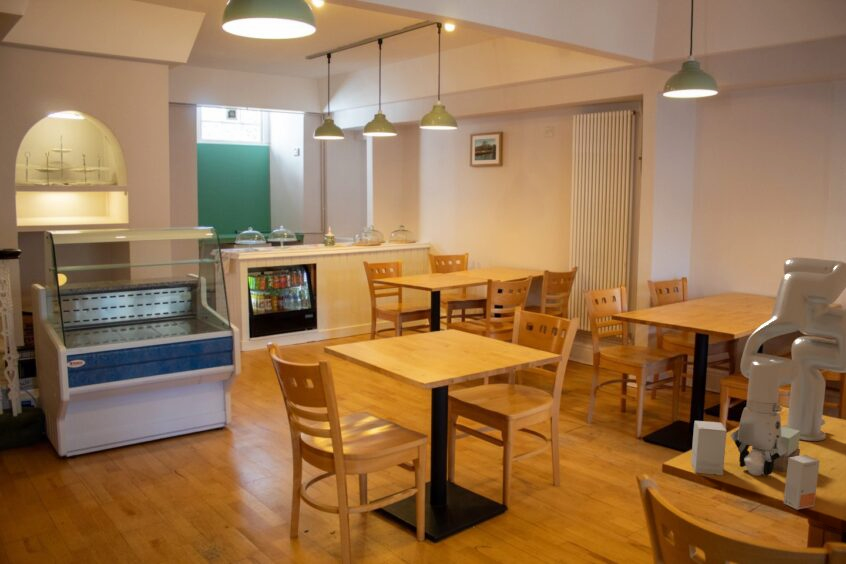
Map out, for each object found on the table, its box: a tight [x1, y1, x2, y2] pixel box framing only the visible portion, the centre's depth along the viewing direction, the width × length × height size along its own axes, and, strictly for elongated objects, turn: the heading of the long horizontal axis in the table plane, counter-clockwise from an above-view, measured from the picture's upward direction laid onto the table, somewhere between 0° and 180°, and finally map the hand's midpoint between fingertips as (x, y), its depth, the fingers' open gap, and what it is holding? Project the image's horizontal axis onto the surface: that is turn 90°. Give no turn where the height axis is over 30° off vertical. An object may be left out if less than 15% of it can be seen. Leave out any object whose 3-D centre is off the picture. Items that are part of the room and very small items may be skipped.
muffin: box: [744, 448, 767, 476], centre depth 199 cm, size 6×6×7 cm
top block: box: [774, 425, 800, 456], centre depth 206 cm, size 9×9×5 cm
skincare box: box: [783, 454, 820, 511], centre depth 179 cm, size 6×4×12 cm
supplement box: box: [690, 420, 727, 476], centre depth 200 cm, size 7×7×13 cm
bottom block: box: [751, 446, 801, 473], centre depth 207 cm, size 9×9×5 cm
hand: (755, 469), depth 199 cm, fingers closed on muffin, 6 cm apart
